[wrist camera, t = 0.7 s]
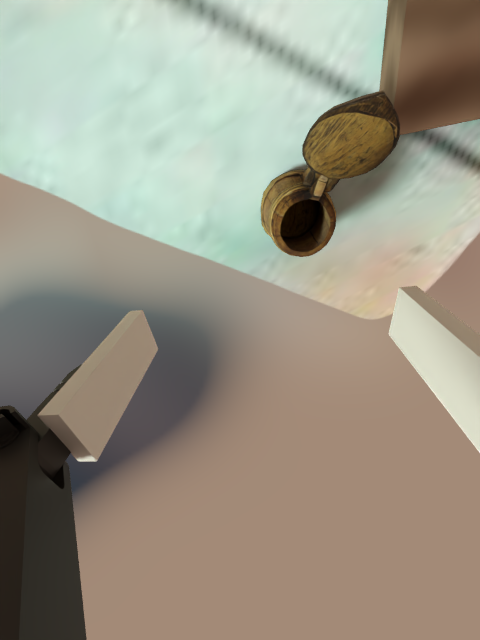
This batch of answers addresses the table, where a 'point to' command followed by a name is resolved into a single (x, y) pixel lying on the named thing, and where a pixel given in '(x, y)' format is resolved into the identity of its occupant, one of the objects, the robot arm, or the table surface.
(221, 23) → the table surface
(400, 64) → the walnut stand
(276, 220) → the wooden mug
